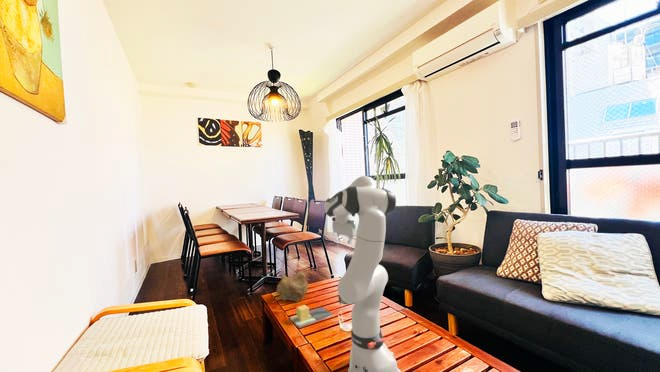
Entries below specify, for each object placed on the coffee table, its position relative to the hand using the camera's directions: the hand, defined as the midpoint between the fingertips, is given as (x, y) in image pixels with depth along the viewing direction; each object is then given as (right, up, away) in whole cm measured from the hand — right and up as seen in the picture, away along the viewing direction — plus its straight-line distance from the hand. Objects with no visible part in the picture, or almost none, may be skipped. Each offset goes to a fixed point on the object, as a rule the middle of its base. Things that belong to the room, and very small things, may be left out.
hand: (344, 242), depth 159 cm
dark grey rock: (+5, -39, +14) cm, 42 cm away
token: (-23, -39, -12) cm, 47 cm away
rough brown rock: (-31, -40, +16) cm, 53 cm away
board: (-19, -40, -9) cm, 45 cm away
